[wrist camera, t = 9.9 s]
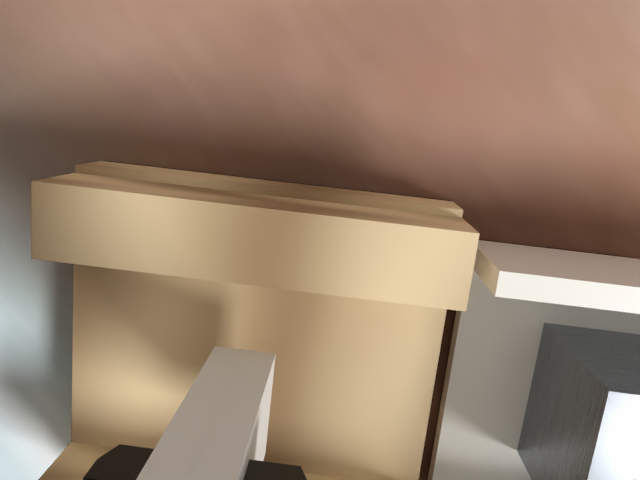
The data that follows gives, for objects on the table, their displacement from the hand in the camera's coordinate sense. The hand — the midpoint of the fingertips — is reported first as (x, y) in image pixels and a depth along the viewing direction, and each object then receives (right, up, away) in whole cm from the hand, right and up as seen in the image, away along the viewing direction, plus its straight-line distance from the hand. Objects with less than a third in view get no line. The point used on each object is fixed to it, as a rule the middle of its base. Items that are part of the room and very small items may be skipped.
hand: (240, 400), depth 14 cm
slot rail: (0, +1, +3) cm, 3 cm away
